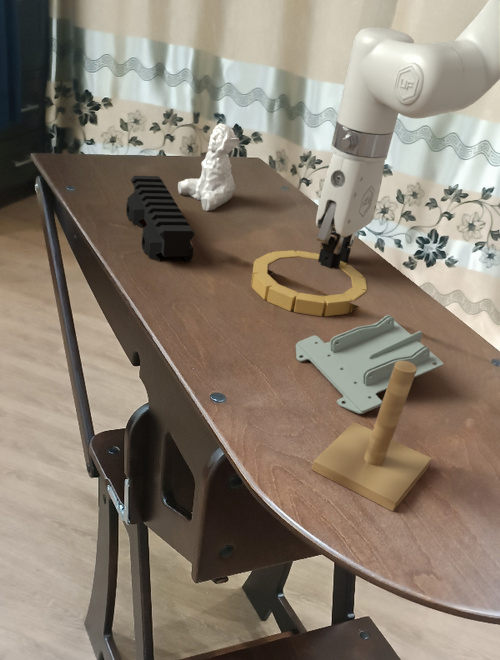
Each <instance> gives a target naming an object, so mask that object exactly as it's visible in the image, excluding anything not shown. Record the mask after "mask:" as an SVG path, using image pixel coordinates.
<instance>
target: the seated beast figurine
mask: <svg viewBox="0 0 500 660" xmlns="http://www.w3.org/2000/svg"><path fill="white" fill-rule="evenodd" d="M209 137H210V138H209V141H208V147H207V150H208V151H207V153H206V154H205V158H204V159H203V160H202V161H201V163H200V164H201V175H200V177H199V178H191V177H190V178H185V179H184V180H181V181H178V182H177V192H178V194H179V195H182V196H190V197H192V198H194V199H196V201H200V203H201V208H202V210H203V211H205V212H209V211H213V210H214V211H215V210H216V209H218V208H220V206H222V205H224V204H225V203H227V202H228V201H230V200H231V199H232V197H233V194H234V192H235V191H236V187H237V186H236V183H235V179H234V177H233V174H232V163H231V160H230V158H229V156H228V154H230V153H231V152H232V151H233V149H235V148H236V147H238V146H239V144H240V138H239V137H237V135H236V134H235V131H234V129H231V128H230V127H228V125H226V124H225V123H222V122H220V123H218V124H217V125H215V127H214V128H213V129H212V134H210V135H209Z"/></svg>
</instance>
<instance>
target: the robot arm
mask: <svg viewBox="0 0 500 660" xmlns="http://www.w3.org/2000/svg"><path fill="white" fill-rule="evenodd" d="M344 79H345V80H344V84H343V89H342V94H341V98H340V103H339V108H338V111H337V112H338V113H337V117H336V122H335V126H334V130H333V135H332V141H331V144H330V150H331V151H332V156H331V159H330V161H329V165H328V168H327V171H326V174H325V178H324V182H323V185H322V189H321V194H320V198H319V200H318V201H319V202H318V205H317V206H318V207H317V211H316V217H315V225H316V228H318V229H319V231H318V233H317V236H316V241H317V242H320V244H319V248H320V251H319V254H320V255H319V259H318V260H317V262H318V263H320V266H323V267H326V268H327V269H331V268H334V269H336V270H338V269H340V268H339V265H340V261H342V262H344V263H347V264H348V262H349V257H350V254H351V250H352V248H351V247H352V246H353V245H354V242H355V238H356V234H357V232H358V231H360V230H362V229H363V228H366V227H367V226H369V225H370V224H371V223H372V221H373V220H374V217H375V213H376V210H377V204H378V200H379V195H380V192H381V191H380V190H381V186H382V182H383V178H384V177H383V176H384V170H385V164H386V160H387V159H388V155H389V151H390V147H391V144H392V139H393V135H394V132H395V129H396V125H397V122H398V117H399V115H401V116H404V117H406V118H408V119H416V120H417V119H425V118H431V117H435V116H440V115H442V114H448V113H454V112H458V111H462V110H464V109H466V108H468V107H470V106H472V105H473V104H475V103H477V101H479V100H480V99H481V98H482V97H483V96H485V95H486V93H488V92H489V91H490V90H491V89H492V88H493V87H494V86H495V85H496V84H497V82H499V80H500V0H488V1H487V2H486V4H484V6H483V8H482V9H481V10H480V11H479V13H478V14H477V15H476V16H475V17H474V19H473V20H472V21H471V22H470V23H469V24H468V25H467V27H466V28H465V29H464V30H463V31H462V32H461V33H460V34H459V35H458V36H457V37H456V38H455V39H454V40H449V41H438V42H429V43H427V42H426V43H416V42H415V41H414V39H413V37H412V36H410V35H409V34H407V33H406V32H402V31H400V30H396V29H393V28H387V27H378V26H368V27H365V28H361V29H360V30H359V31H358V32H357V34H356V35H355V37H354V39H353V43H352V47H351V50H350V56H349V60H348V66H347V69H346V74H345V78H344Z"/></svg>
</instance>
